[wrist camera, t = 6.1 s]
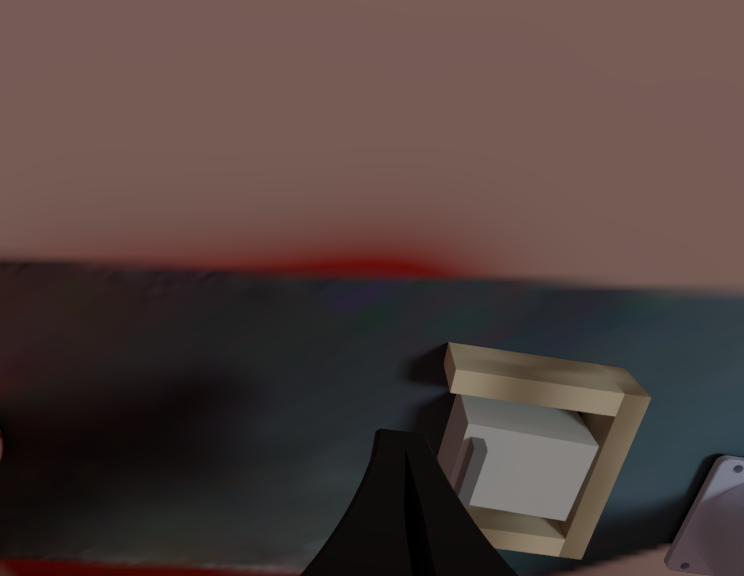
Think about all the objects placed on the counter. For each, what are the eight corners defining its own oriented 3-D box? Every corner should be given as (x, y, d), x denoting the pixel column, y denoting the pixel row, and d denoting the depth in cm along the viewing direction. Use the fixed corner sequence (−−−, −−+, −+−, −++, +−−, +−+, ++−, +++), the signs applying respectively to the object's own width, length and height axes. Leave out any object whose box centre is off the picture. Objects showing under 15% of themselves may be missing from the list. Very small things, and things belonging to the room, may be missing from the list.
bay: (624, 368, 23) (651, 397, 21) (564, 519, 27) (581, 559, 24) (448, 342, 23) (456, 369, 20) (411, 499, 26) (414, 537, 24)
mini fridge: (572, 404, 24) (606, 459, 20) (544, 473, 26) (571, 535, 22) (458, 383, 24) (471, 435, 20) (436, 454, 26) (445, 513, 22)
